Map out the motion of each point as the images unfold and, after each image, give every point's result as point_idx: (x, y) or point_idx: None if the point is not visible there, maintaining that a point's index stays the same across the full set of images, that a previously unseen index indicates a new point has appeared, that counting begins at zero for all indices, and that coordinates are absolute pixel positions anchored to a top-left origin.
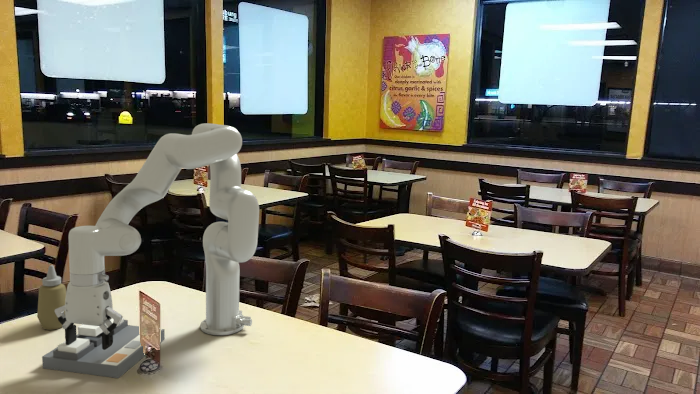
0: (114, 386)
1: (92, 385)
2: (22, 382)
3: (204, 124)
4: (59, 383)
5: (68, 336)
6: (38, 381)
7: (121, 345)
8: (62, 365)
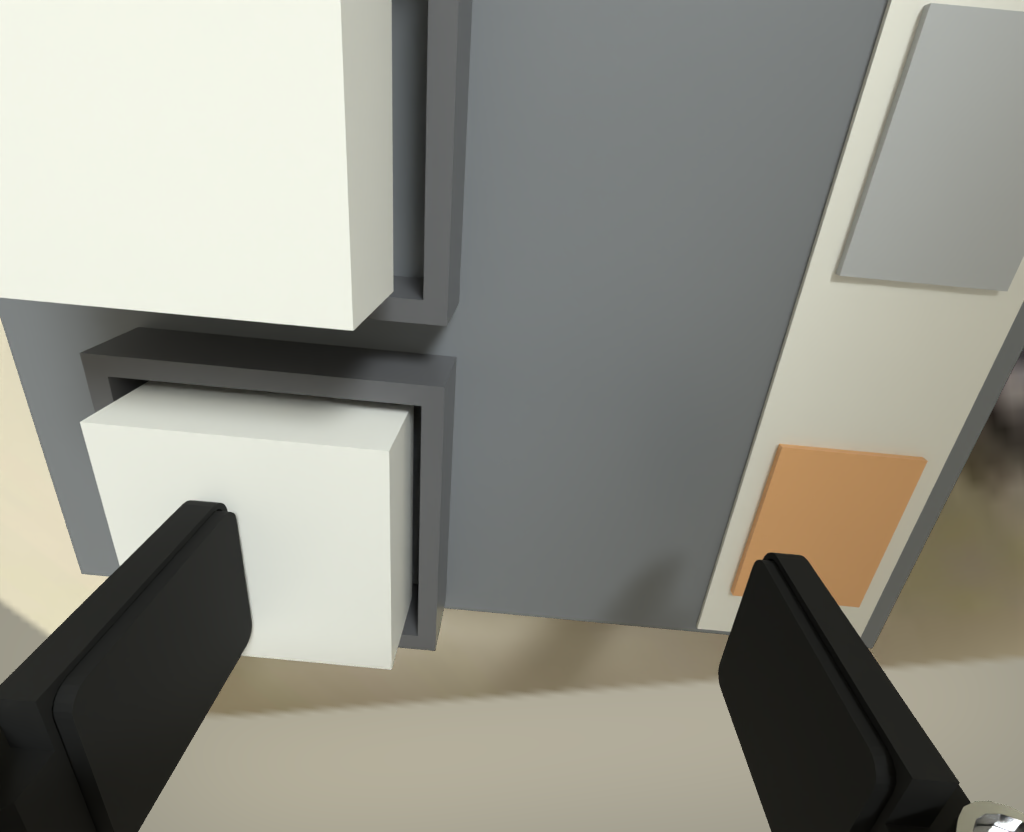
0: None
1: (663, 656)
2: None
3: None
4: (434, 656)
5: (190, 737)
6: None
7: (769, 200)
8: None
